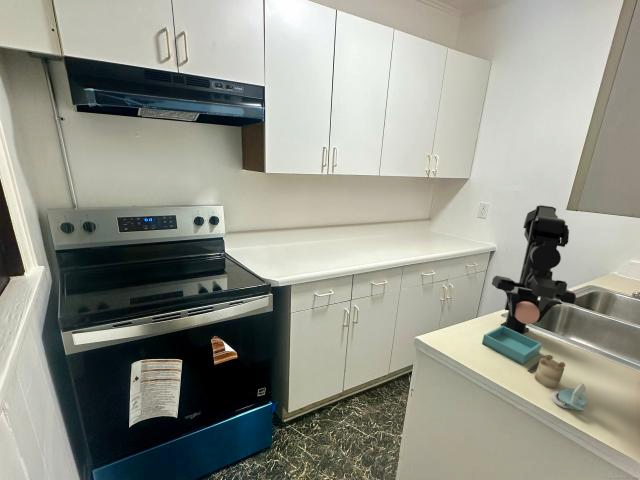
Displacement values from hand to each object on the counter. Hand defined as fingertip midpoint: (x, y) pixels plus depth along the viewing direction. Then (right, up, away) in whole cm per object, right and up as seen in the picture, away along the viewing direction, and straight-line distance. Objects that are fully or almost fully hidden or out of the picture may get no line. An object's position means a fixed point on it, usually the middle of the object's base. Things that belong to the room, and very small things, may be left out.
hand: (524, 319), depth 87 cm
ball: (0, +2, 0) cm, 2 cm away
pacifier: (+1, -16, -14) cm, 21 cm away
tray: (0, -10, +6) cm, 12 cm away
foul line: (+4, -12, 0) cm, 13 cm away
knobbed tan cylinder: (+1, -14, -7) cm, 16 cm away
